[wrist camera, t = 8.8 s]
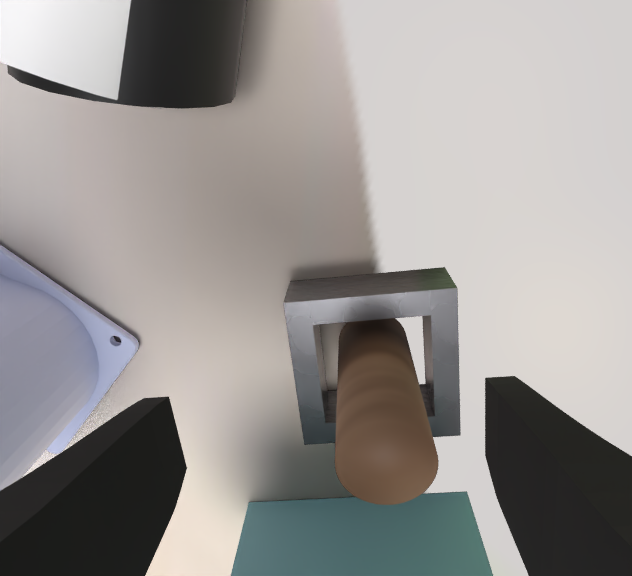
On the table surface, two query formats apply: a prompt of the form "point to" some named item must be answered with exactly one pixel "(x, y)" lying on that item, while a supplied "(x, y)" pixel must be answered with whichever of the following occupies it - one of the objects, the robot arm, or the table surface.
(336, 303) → the gray socket
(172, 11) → the security camera
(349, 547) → the teal block
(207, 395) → the table surface
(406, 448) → the walnut peg
